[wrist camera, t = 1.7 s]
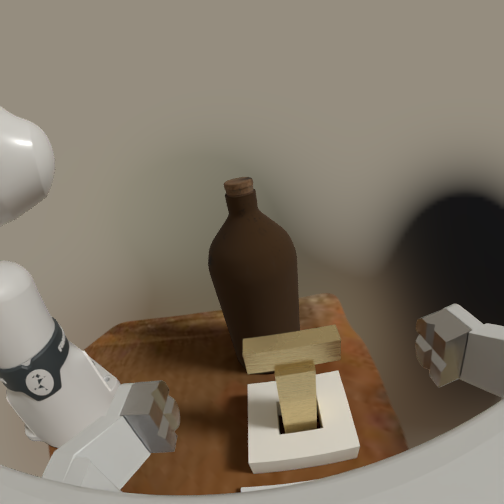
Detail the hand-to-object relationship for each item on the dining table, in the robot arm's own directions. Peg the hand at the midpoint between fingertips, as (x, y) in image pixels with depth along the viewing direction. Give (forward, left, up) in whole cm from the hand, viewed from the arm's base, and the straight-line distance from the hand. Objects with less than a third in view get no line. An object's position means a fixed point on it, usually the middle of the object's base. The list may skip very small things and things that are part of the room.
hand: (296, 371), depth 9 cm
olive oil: (-21, +17, -25) cm, 37 cm away
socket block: (-9, +9, -25) cm, 28 cm away
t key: (-9, +9, -25) cm, 28 cm away
